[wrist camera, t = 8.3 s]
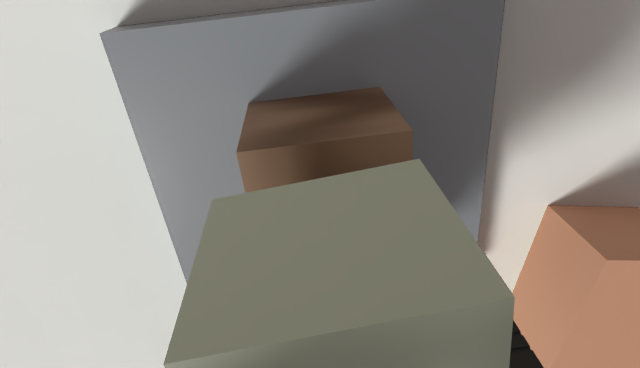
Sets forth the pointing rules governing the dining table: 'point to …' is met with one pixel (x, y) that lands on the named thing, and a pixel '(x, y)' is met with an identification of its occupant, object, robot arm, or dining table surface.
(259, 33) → the baseplate
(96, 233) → the dining table surface
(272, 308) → the sage brick
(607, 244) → the terracotta brick
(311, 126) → the walnut brick
